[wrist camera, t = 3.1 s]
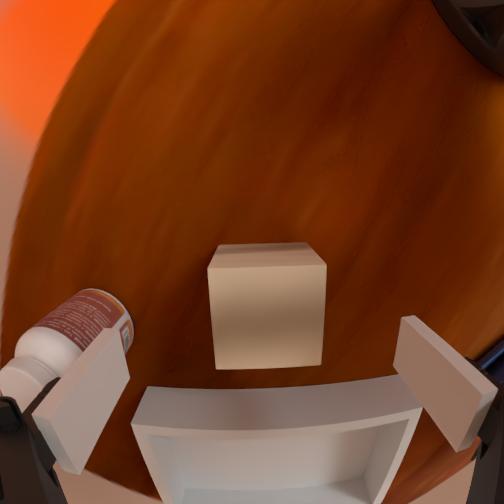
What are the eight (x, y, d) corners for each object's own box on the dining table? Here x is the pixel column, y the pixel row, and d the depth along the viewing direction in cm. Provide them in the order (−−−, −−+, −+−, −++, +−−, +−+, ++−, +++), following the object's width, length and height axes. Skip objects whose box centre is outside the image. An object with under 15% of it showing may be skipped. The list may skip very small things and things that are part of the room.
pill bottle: (58, 301, 22) (-26, 364, 12) (111, 274, 22) (23, 341, 11) (95, 363, 24) (34, 446, 13) (149, 343, 23) (96, 440, 12)
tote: (147, 386, 24) (130, 423, 19) (399, 373, 24) (423, 406, 19) (178, 487, 28) (172, 519, 23) (367, 477, 28) (378, 507, 23)
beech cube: (218, 244, 22) (207, 268, 16) (306, 241, 22) (326, 264, 16) (223, 324, 23) (216, 369, 17) (304, 321, 23) (320, 365, 17)
